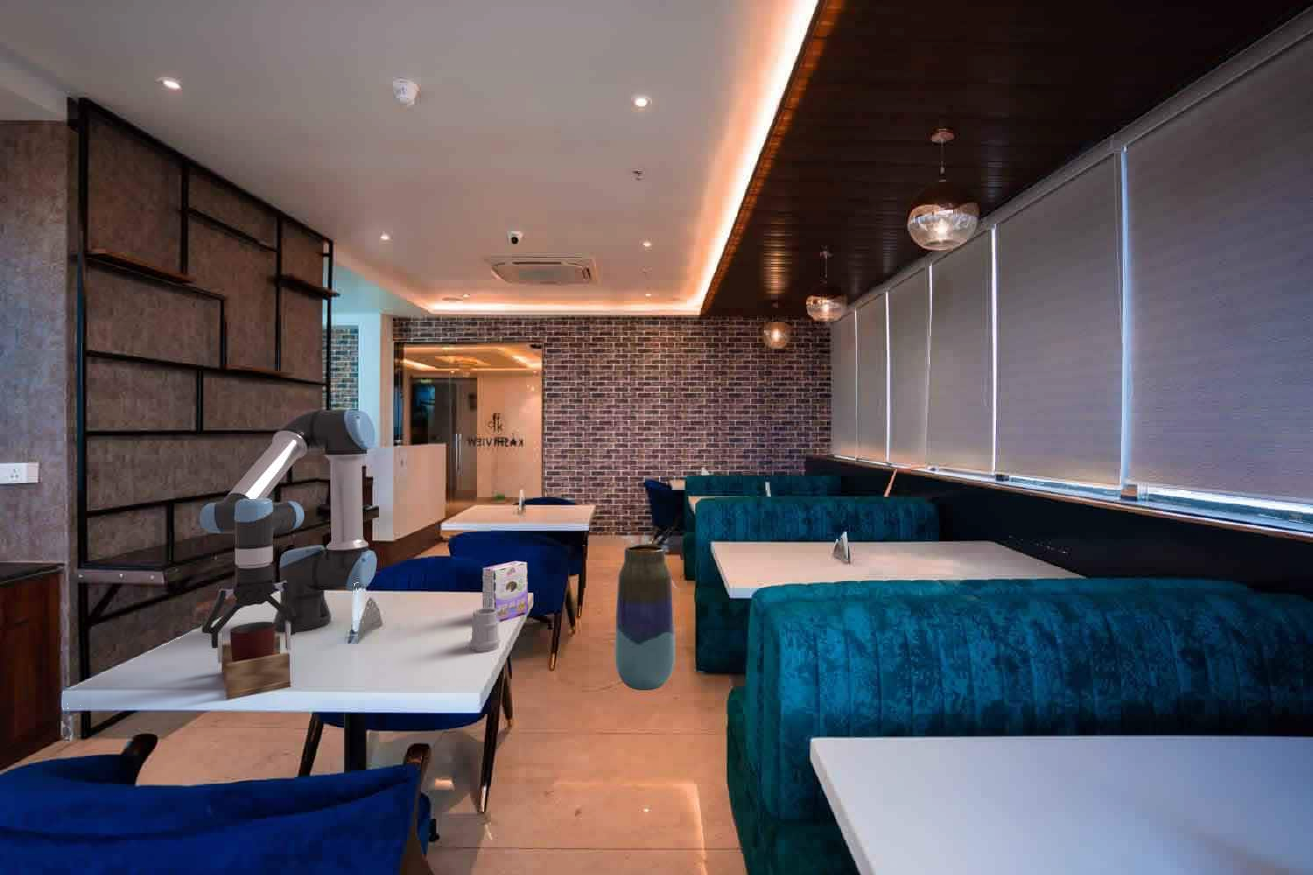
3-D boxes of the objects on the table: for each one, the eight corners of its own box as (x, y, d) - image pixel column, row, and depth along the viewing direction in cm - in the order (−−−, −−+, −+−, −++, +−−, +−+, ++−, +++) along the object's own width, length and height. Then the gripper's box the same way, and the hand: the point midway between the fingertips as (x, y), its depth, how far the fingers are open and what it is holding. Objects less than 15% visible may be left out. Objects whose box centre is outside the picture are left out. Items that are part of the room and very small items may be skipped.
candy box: (516, 610, 208) (515, 560, 208) (528, 613, 205) (528, 562, 204) (481, 620, 197) (481, 567, 197) (494, 623, 193) (494, 569, 193)
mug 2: (466, 652, 168) (466, 606, 168) (480, 637, 180) (480, 595, 180) (494, 652, 168) (494, 607, 168) (507, 638, 180) (507, 595, 180)
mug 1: (251, 663, 156) (251, 618, 156) (288, 662, 157) (288, 617, 157) (221, 682, 144) (221, 633, 144) (262, 681, 145) (262, 632, 145)
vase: (602, 683, 147) (601, 547, 147) (647, 668, 157) (646, 540, 156) (642, 701, 137) (641, 556, 137) (687, 684, 146) (687, 548, 146)
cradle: (278, 661, 162) (278, 633, 162) (290, 686, 146) (290, 655, 146) (221, 672, 154) (221, 642, 154) (227, 699, 138) (227, 666, 138)
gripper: (311, 555, 160) (311, 640, 160) (188, 568, 145) (188, 661, 145) (316, 560, 154) (317, 648, 155) (188, 574, 139) (189, 671, 139)
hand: (254, 655), depth 150 cm, fingers open, 13 cm apart
